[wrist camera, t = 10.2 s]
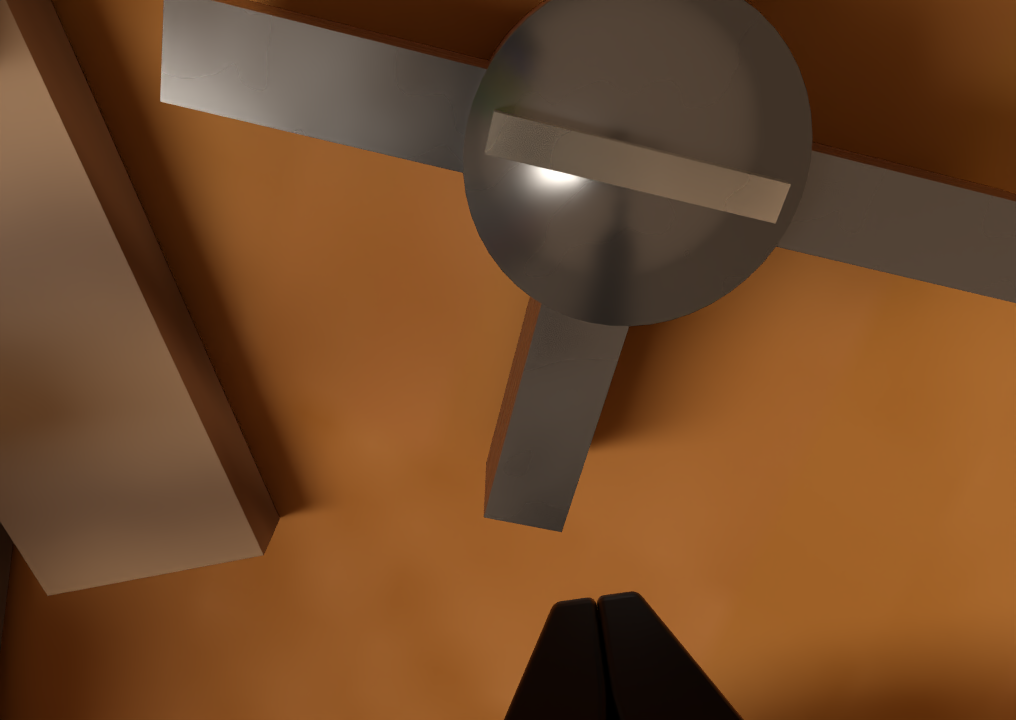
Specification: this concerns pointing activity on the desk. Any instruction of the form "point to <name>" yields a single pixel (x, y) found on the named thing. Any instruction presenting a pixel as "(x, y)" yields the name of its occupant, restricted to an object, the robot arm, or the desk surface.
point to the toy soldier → (4, 572)
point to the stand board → (100, 352)
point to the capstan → (597, 178)
